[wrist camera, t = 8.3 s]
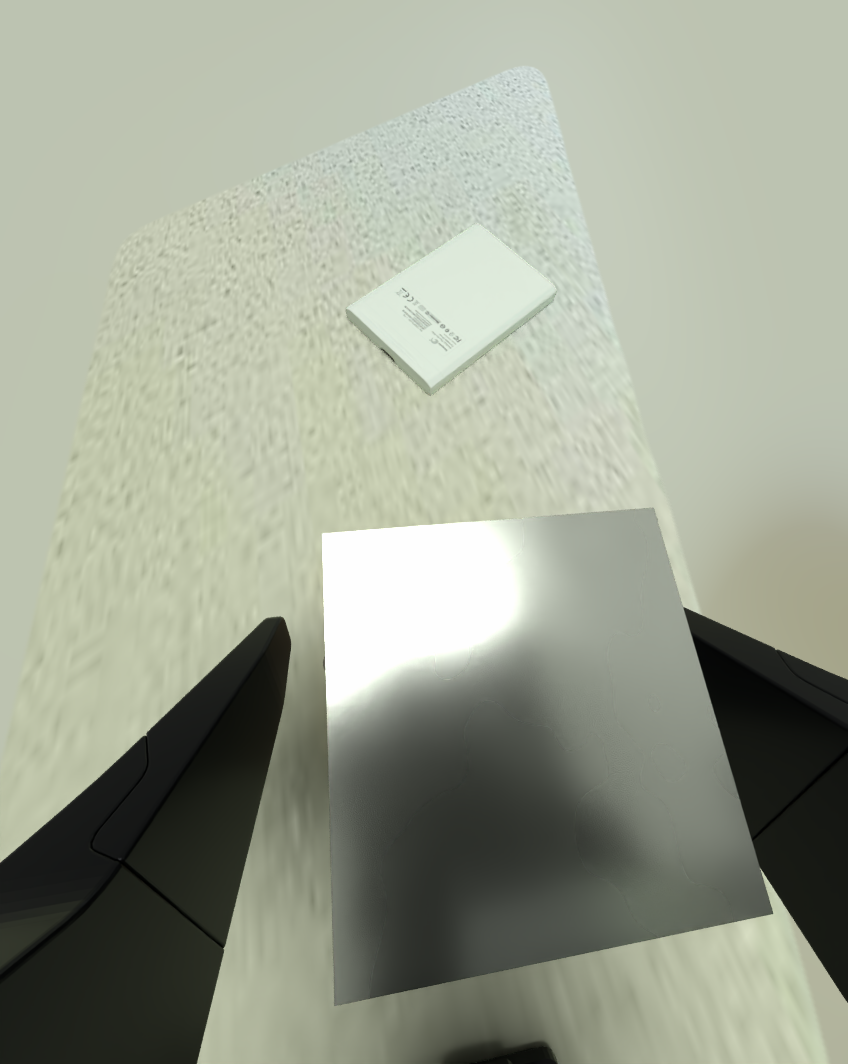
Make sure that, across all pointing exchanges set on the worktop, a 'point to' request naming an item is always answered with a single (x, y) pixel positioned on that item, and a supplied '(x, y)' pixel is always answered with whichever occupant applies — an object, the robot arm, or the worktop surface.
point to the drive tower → (519, 751)
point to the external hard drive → (452, 306)
